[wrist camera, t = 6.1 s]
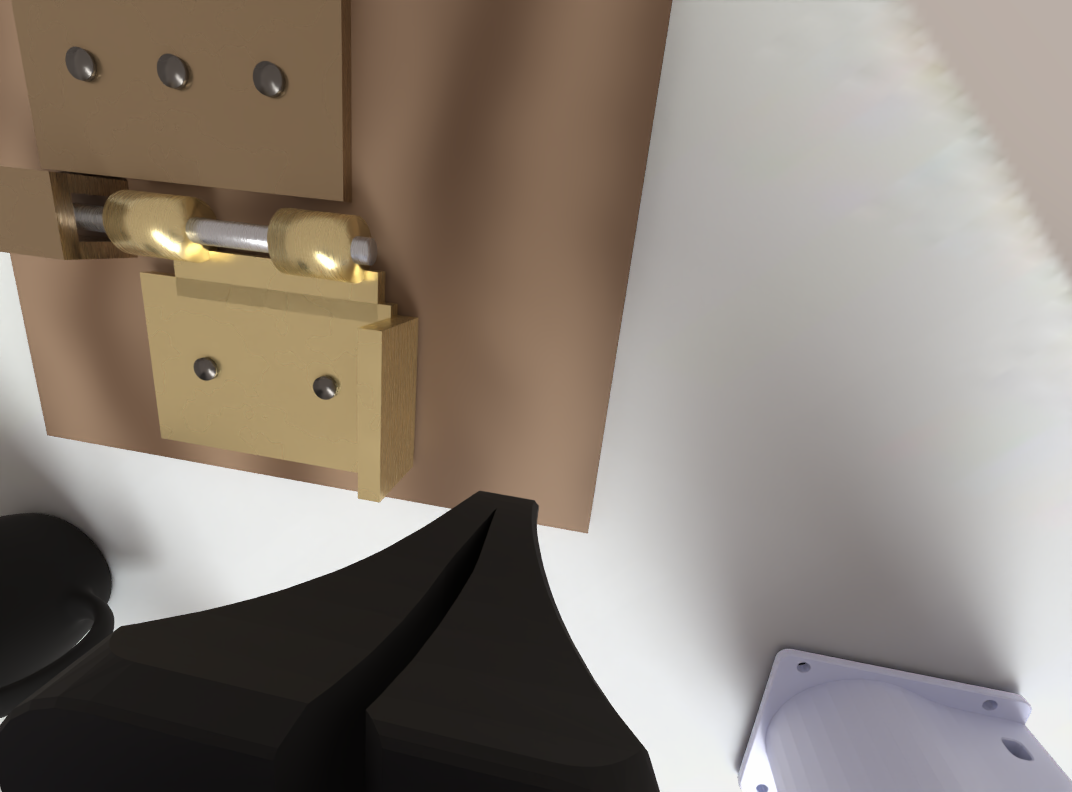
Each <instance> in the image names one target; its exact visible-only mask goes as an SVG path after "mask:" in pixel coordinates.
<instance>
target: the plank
mask: <svg viewBox="0 0 1072 792" xmlns="http://www.w3.org/2000/svg"><path fill="white" fill-rule="evenodd" d="M671 6H672V0H351V107H352V203H349V202H340V201H331V200H322V199H313V198H304V197H295V196H285V195H276V194H267V193H258V192H249V191H240V190H231V189H221V188H212V187H203V186H194V185H185V184H176V183H167V182H157V181H148V180H139V179H130V178H121V177H112V176H103V175H94V174H84V173H75V172H66V171H57V170H49V169H41V165H40V159H39V153H38V148H37V142H36V137H35V131H34V125H33V120H32V114H31V109H30V103H29V97H28V92H27V86H26V81H25V75H24V69H23V64H22V58H21V53H20V47H19V42H18V36H17V30H16V25H15V19H14V14H13V8H12V2H11V0H0V166H4V167H13V168H22V169H32V170H41V171H50V172H58V173H66V174H74V175H82V176H90V177H99V178H107V179H115V180H123V181H128V186H129V190H135V191H143V192H152V193H161V194H170V195H179V196H188V197H195V198H198V199H201V200H202V201H204V202H205V203H206V204H207V205H209V207H210V208H211V209H212V211H213V212H214V214H215V216H216V218H217V220H224V221H233V222H241V223H250V224H258V225H267V226H269V223H270V221H271V218H272V217H273V215H274V214H275V213H276V212H277V211H278V210H279V209H281V208H295V209H303V210H312V211H321V212H330V213H339V214H348V215H357V216H360V217H362V218H363V219H364V220H365V222H366V223H367V225H368V227H369V230H370V233H371V238H373V239H374V240H375V242H376V244H377V258H376V261H375V263H374V264H373V265H372V266H370V270H378V271H385V302H388V303H396V304H398V315H403V316H411V317H418V346H417V375H416V404H415V432H414V461H413V467H412V468H411V469H410V470H409V471H408V472H407V473H406V475H405V476H404V477H403V478H402V479H401V480H400V481H399V482H398V483H397V484H396V485H395V486H394V487H393V489H392V490H391V491H390V492H389V493H388V494H387V495H386V496H385V497H390V498H396V499H401V500H407V501H412V502H418V503H423V504H429V505H434V506H440V507H445V508H451V509H452V508H454V507H455V506H457V505H458V504H460V503H461V502H463V501H464V500H466V499H467V498H469V497H470V496H472V495H473V494H475V493H476V492H478V491H485V492H491V493H497V494H502V495H508V496H514V497H519V498H525V499H531V500H535V501H536V503H537V504H538V505H539V511H538V519H537V524H539V525H544V526H550V527H555V528H561V529H566V530H572V531H577V532H583V533H588V529H589V523H590V516H591V510H592V504H593V497H594V491H595V485H596V478H597V472H598V466H599V459H600V453H601V447H602V441H603V434H604V428H605V422H606V415H607V409H608V403H609V396H610V390H611V384H612V378H613V371H614V365H615V359H616V352H617V346H618V340H619V333H620V327H621V321H622V315H623V308H624V302H625V296H626V289H627V283H628V277H629V270H630V264H631V258H632V252H633V245H634V239H635V233H636V226H637V220H638V214H639V207H640V201H641V195H642V189H643V182H644V176H645V170H646V163H647V157H648V151H649V144H650V138H651V132H652V126H653V119H654V113H655V107H656V100H657V94H658V88H659V81H660V75H661V69H662V63H663V56H664V50H665V44H666V37H667V31H668V25H669V18H670V12H671ZM109 197H110V196H101V195H90V194H79V193H71V198H72V203H80V204H88V205H97V206H104V205H105V202H106V201H107V199H108V198H109ZM77 234H78V235H86V236H94V237H102V238H109V237H108V236H107V234H106V233H105V232H97V231H89V230H81V229H77ZM217 250H219V251H227V252H235V253H243V254H251V255H259V256H267V257H270V255H269V253H265V252H257V251H249V250H241V249H233V248H225V247H218V248H217ZM10 256H11V261H12V266H13V271H14V276H15V280H16V285H17V290H18V295H19V300H20V305H21V310H22V314H23V319H24V324H25V329H26V334H27V339H28V344H29V348H30V353H31V358H32V363H33V368H34V373H35V378H36V382H37V387H38V392H39V397H40V402H41V407H42V411H43V416H44V421H45V426H46V431H47V435H49V436H55V437H60V438H66V439H71V440H77V441H82V442H88V443H93V444H99V445H104V446H110V447H115V448H121V449H126V450H132V451H137V452H143V453H148V454H154V455H159V456H165V457H170V458H176V459H181V460H187V461H192V462H198V463H203V464H209V465H214V466H220V467H225V468H231V469H236V470H242V471H247V472H253V473H258V474H264V475H269V476H275V477H280V478H286V479H291V480H297V481H302V482H308V483H313V484H319V485H324V486H330V487H335V488H341V489H346V490H352V491H357V492H358V473H355V472H350V471H344V470H339V469H333V468H327V467H322V466H316V465H310V464H305V463H299V462H293V461H288V460H282V459H276V458H271V457H265V456H260V455H254V454H248V453H243V452H237V451H231V450H226V449H220V448H214V447H209V446H203V445H197V444H192V443H186V442H181V441H175V440H169V439H164V438H161V431H160V423H159V416H158V408H157V401H156V393H155V385H154V378H153V370H152V363H151V355H150V347H149V340H148V332H147V325H146V317H145V309H144V302H143V294H142V287H141V279H140V272H149V271H156V272H163V273H171V274H175V270H174V261H173V260H171V259H163V258H155V257H148V256H140V255H138V258H112V259H82V260H59V259H52V258H45V257H37V256H30V255H22V254H15V253H10Z"/></svg>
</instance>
